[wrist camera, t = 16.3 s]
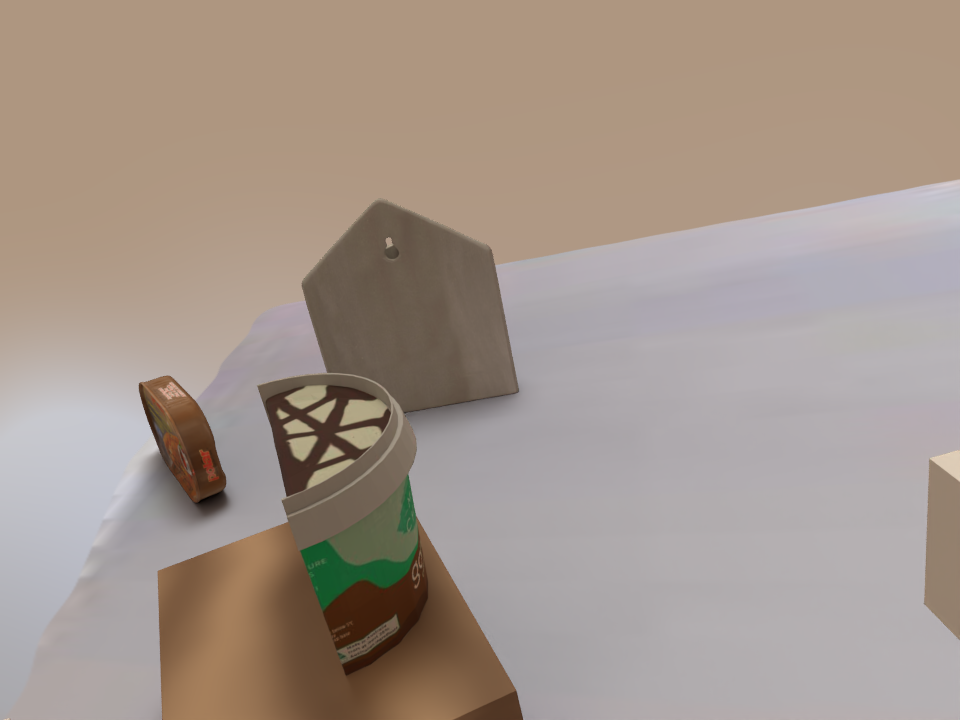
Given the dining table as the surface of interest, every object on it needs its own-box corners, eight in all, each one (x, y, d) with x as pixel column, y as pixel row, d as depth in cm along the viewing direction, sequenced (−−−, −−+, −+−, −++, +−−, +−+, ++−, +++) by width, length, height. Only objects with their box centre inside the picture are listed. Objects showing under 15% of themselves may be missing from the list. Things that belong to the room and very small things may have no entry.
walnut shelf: (425, 584, 52) (396, 481, 49) (546, 818, 37) (516, 690, 33) (205, 675, 49) (157, 571, 45) (235, 977, 33) (166, 852, 30)
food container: (488, 645, 36) (440, 452, 31) (351, 700, 34) (282, 507, 30) (416, 502, 47) (374, 344, 42) (311, 540, 45) (256, 380, 41)
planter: (514, 355, 80) (477, 159, 72) (519, 393, 73) (478, 180, 65) (352, 384, 81) (297, 194, 73) (341, 424, 74) (279, 218, 66)
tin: (158, 453, 76) (124, 373, 72) (191, 438, 77) (159, 359, 74) (205, 520, 64) (168, 429, 61) (243, 502, 65) (208, 411, 62)
